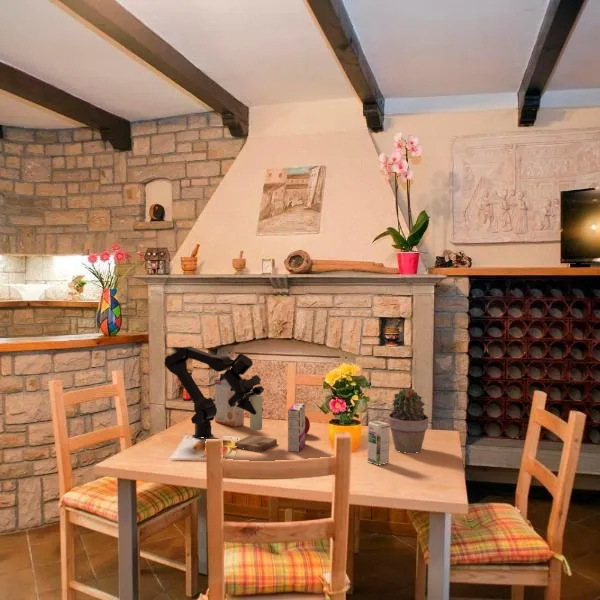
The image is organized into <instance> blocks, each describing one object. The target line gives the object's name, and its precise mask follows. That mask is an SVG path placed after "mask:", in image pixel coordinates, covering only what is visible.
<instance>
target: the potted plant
mask: <svg viewBox="0 0 600 600" xmlns="http://www.w3.org/2000/svg"><path fill="white" fill-rule="evenodd" d="M398 391H399V392H398V393H394V395H393V396H394V399H393V400H392V401H391V404H389V405H388V407H390V406H393V407H391V408H390V410H392V411H391V412H390V413H389V414H388V415H387V422H388V423H387V424H390V433H391V437H392V441H393V445H394V450H395V449H396V450H397V451H400V452H406V453H416V452H419V451H420V452H421V451H422V447H423V443H424V440H425V435H426V432H427V431H426V430H428V428H429V418H430V417H429V416H428V415H427V414H425V408H424V406H427V407H428V406H431V405H430V404H426V403H425V402H423V400H422V398H423V396H421V395H419V394H418V393H417V392H416V391H415V389H412V388H409V389H406V388H403V389H402V390H398ZM431 407H432V406H431ZM396 450H395V451H396ZM397 451H396V452H397ZM400 452H399V453H400ZM420 452H419V453H420ZM416 454H417V453H416Z"/></svg>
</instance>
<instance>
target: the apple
mask: <svg viewBox="0 0 600 600" xmlns="http://www.w3.org/2000/svg"><path fill="white" fill-rule="evenodd" d="M310 423H311V422H310V420H309V418H308V417H307V416H306V415H305V436H306V435H307V434H308V433H309V431H310V428H311V424H310Z"/></svg>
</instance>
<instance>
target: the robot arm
mask: <svg viewBox="0 0 600 600" xmlns="http://www.w3.org/2000/svg"><path fill="white" fill-rule="evenodd" d="M189 359H191V360H195V361H197V362H200V363H203V364H206V365H208V366H209V368H211V369H212V370H214V371H215V372H217V373H220V372H224V373H220V376H219V377H220V381H222V380H226V381H227V383H228V384H229V385H230V387H231V389H230V390H231V392H232V391H234V392H235V394H234V395H233V396H232V397H231V398H230V399H229V400H228V404H229V406H230V407H233V406H235V405H236V402H237V403H238V405H237V406H236V407H239V408H242V409H244V411H246V412H248V413H249V414H250V413H252V414H254V415H255V414H256V411H255V409H254V408H253V406H252V405H251V403H250V396H252V395H261V394H262V393H264V391H265V388H264V387H263V386H262V385H261V382H262V381H261V380H262V379H261V377H260V376H259V375H258V374H254V375H253V376H251V378H250V379H246V378H243V377H242V376H244V375H245V374H246V373H247V372H248V371H249V370H250V368H252V367H253V360H252V359H251V358H249V356H247V355H244V353H239V354H238V355H237V356H236V357H235V359H232V358H231V357H230V356H228V355H220V354H212V353H209V352H206V351H203V350H200V349H198V348H195V347H193V346H185V347H182V348H180V350H178V351H176V352H174V353H173V354H169V355H167V356H166V357H165V359H164V366H165V367H166V369H167V370H168V371H169V372H170V373H172V374H173V375H175V376H176V377H177V378H178V380H179V382H180V383H181V385H182V387H183V388H184V389H185V391H186V393H187V394H188V396H189V397H190V399H191V400H192V402H193V407H194V412H195V414H193V416H192V417H191V419H190V420H191V423H192V424H194V434H192V436H194V437H193V438H196V437H204V438H205V439H207V438H206V437H208V438H210V437H214V436H215V435H214V434H212V421H215V415H216V413H217V408H216V404H215V401H214V400H213V398H212V397H205V395H204V394H203V393H202V391H201V389H200V388H199V386H198V385H197V383H196V381H195V380H194V378H193V377H192V375H191V374H190V372H189V370H188V367H187V366H188V363H187V361H188V360H189ZM263 412H264V408H263V406H262V413H263ZM192 436H191V437H192Z"/></svg>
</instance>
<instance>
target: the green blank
mask: <svg viewBox="0 0 600 600" xmlns="http://www.w3.org/2000/svg"><path fill="white" fill-rule="evenodd" d="M249 401H250V403H251V405H252V406H253V408H254V409H255V411H256V414H255V415H254V414H252V413H250V412H249V430H250V431H261V430H263V412H262V407H263V395H261V394H260V395H252V396H250V399H249Z"/></svg>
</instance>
